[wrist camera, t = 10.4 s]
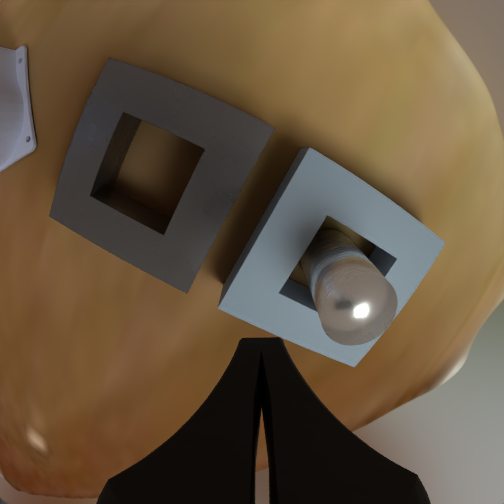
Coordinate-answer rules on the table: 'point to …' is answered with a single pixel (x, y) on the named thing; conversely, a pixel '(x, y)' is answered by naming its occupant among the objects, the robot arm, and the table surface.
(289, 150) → the table surface
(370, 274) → the aluminium peg
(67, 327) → the table surface
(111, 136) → the charcoal stand
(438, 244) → the block
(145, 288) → the table surface
